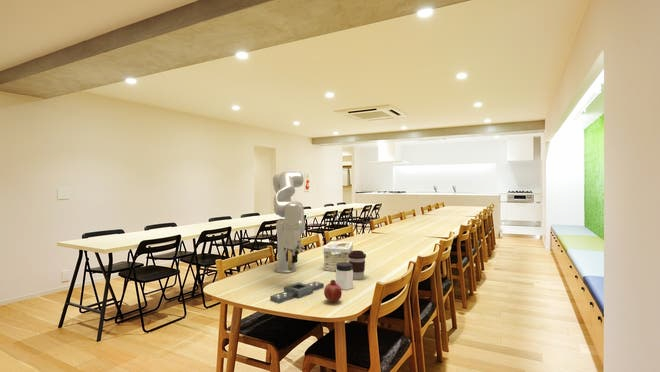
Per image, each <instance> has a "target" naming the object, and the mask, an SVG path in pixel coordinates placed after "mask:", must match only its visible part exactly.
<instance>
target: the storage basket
mask: <svg viewBox="0 0 660 372" xmlns="http://www.w3.org/2000/svg"><path fill="white" fill-rule="evenodd" d="M353 247H354V242H353V241H333V240H332V241H329V242H328V243H327V244H325V245H323V265H324V271H329V272H332V271H333V272H336V269H337V263H342V262H347V263H349V260H350V259H349V257H348V254H350V253H351V251H353Z"/></svg>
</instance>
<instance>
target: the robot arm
mask: <svg viewBox="0 0 660 372" xmlns="http://www.w3.org/2000/svg"><path fill="white" fill-rule="evenodd" d="M303 185H304V175H303V173H302V172H300V171H283V172H281V173H277V174H275V175H273V177H272V186H273V189H274V191H275V194H274V197H273V212H274V214H275V215H276V216H279V217H280V218H281V219H280V218H279V219H278V220H277V221H276V223H275V228H276V229H275V230H276V238H277V261H276V262H275V263H274V266H276V267H275V269H274V272H276V273H280V274H289V273H293V272H295V271H296V270H294V271H289V270H288V249H290V250H293V255H292V263H296V264H297V263H298V255H299V254H300V253H301V252H302V251H303V248H302V246H301V245H302V241H301V240H302V238H301V235H302V234H304V233H305V230H306V223H305V222H306V221H305V210H304V205H303V203H301V202H299V201H296V200H295V201H293V200H292V196H294V195H295V192H296V188H300V187H302V186H303ZM295 250H296V252H295Z"/></svg>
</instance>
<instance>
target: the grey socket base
mask: <svg viewBox="0 0 660 372" xmlns="http://www.w3.org/2000/svg"><path fill="white" fill-rule="evenodd" d="M323 288H324V289H325V284H324V283H323V282H319V281H312V282H310V283H303V282H299V281H298V282H296V283H293V284H288V285H286V286H283V291H280V292H277V293H276V294H273V295H270V298H269V299H270V300H269V301H271V302H274V303H277V304H281V303H284V302H287V301H290V300H292V299H295V298H296V299H301V298H303V297H307V296H308V295H311V294H314V292H315V291H317V290H320V289H323Z"/></svg>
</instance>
